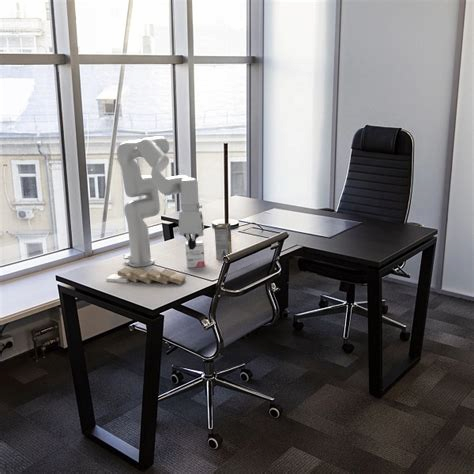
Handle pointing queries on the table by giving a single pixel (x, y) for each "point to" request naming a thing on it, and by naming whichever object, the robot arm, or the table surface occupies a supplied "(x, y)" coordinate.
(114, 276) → the cream domino
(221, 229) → the coffee box
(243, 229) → the table surface
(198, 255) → the ink box
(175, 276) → the domino
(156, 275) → the domino
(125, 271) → the domino
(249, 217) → the table surface
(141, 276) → the domino
